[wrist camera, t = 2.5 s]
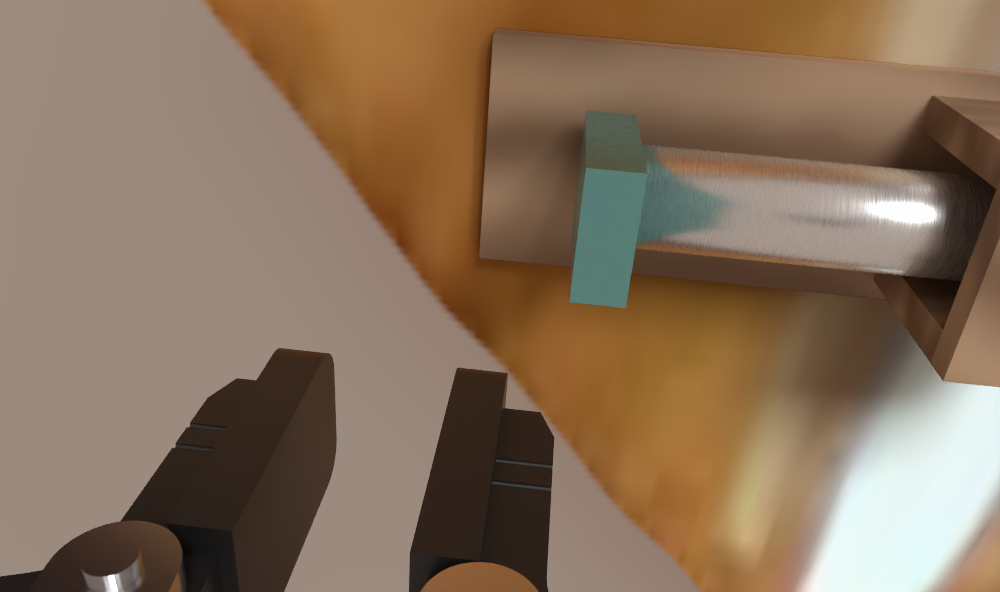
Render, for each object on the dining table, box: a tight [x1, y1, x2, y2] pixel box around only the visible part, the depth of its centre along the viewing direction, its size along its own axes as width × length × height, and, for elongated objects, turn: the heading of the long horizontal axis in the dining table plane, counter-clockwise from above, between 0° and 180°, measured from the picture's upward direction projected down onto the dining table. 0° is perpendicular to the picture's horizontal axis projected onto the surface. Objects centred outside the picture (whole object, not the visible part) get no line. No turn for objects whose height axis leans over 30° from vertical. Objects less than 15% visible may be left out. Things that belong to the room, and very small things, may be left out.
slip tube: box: [569, 110, 997, 308], centre depth 30 cm, size 25×5×7 cm, turn 86°
